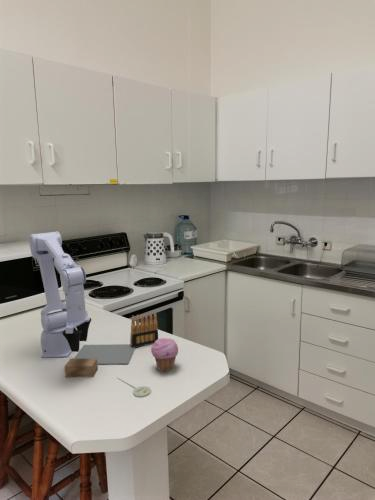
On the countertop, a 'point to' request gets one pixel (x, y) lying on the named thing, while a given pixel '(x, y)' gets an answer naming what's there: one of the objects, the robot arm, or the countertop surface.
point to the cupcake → (164, 353)
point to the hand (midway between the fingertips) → (79, 345)
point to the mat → (107, 353)
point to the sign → (140, 390)
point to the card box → (81, 368)
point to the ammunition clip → (143, 331)
